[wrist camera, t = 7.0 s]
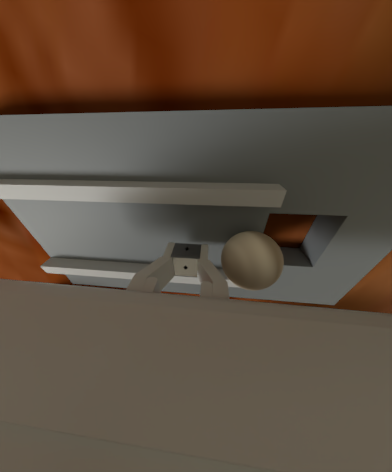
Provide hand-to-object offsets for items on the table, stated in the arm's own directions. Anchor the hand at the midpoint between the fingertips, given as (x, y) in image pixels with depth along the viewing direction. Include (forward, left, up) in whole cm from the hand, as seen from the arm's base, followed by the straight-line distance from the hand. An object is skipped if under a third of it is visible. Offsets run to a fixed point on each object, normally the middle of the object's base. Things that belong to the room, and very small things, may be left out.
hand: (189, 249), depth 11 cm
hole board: (0, 0, -4) cm, 4 cm away
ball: (0, +4, +1) cm, 4 cm away
